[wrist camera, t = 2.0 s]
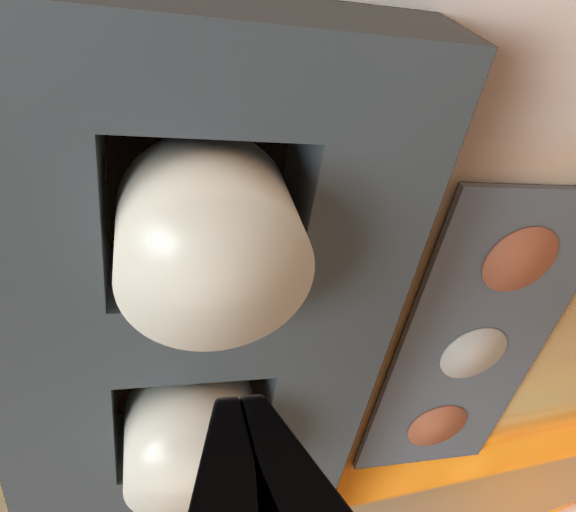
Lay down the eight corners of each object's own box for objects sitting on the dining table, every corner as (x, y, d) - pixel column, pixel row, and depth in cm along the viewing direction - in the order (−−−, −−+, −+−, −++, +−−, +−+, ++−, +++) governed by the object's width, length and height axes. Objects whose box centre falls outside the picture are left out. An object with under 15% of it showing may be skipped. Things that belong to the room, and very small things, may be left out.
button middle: (246, 436, 21) (260, 512, 18) (126, 448, 20) (124, 531, 17) (260, 356, 18) (278, 433, 16) (122, 365, 17) (120, 448, 15)
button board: (289, 522, 29) (302, 581, 27) (50, 557, 26) (41, 626, 24) (439, 12, 14) (497, 47, 12) (-85, -51, 11) (-144, -20, 9)
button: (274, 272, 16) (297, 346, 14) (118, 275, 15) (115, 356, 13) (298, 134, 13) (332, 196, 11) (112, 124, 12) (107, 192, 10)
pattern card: (475, 449, 29) (479, 455, 29) (353, 463, 27) (355, 471, 27) (630, 187, 20) (638, 192, 19) (459, 182, 18) (465, 188, 17)
